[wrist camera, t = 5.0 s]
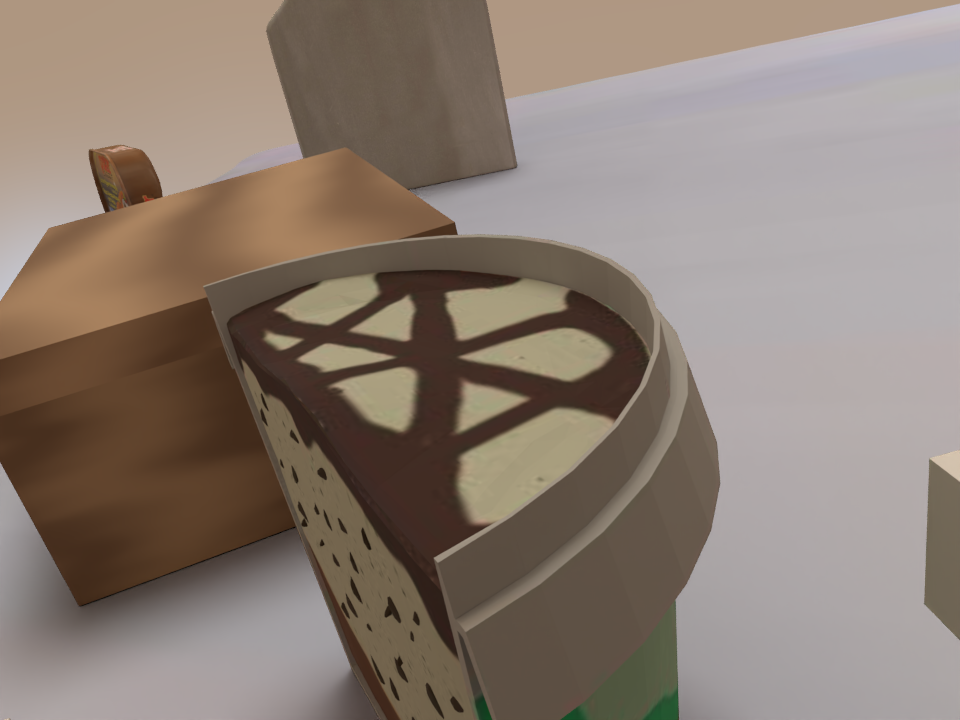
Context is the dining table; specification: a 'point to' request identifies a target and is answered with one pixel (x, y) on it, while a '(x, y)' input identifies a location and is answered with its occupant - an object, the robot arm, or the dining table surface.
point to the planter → (395, 85)
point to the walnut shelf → (164, 366)
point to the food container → (483, 469)
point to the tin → (123, 177)
